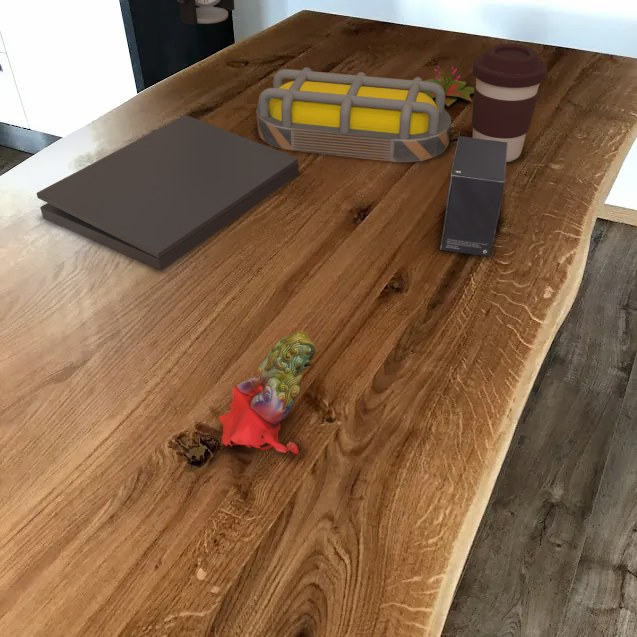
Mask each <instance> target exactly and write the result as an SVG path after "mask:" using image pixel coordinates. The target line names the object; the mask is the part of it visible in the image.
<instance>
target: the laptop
mask: <svg viewBox="0 0 637 637" xmlns="http://www.w3.org/2000/svg"><path fill="white" fill-rule="evenodd" d="M297 176H299V163H297V164H296V165H295V166H293V167H292V168H290V169H289V170H287V171H286V172H284V173H283V174H281V175H280V176H278V177H277V178H276V179H274V180H273V181H271V182H270V183H268V184H267V185H265V186H264V187H262V188H261V189H259V190H258V191H257V192H255V193H254V194H252V195H251V196H249V197H248V198H246V199H245V200H243V201H242V202H240V203H239V204H238V205H236V206H235V207H233V208H232V209H230V210H229V211H227V212H226V213H224V214H223V215H221V216H220V217H219V218H217V219H216V220H214V221H213V222H211V223H210V224H208V225H207V226H205V227H204V228H202V229H201V230H200V231H198V232H197V233H195V234H194V235H192V236H191V237H189V238H188V239H186V240H185V241H183V242H182V243H181V244H179V245H178V246H176V247H175V248H173V249H172V250H170V251H169V252H167V253H166V254H164V255H163V256H162V257H160V258H157V257H155V256H153V255H151V254H149V253H147V252H145V251H143V250H141V249H139V248H137V247H135V246H133V245H131V244H129V243H127V242H125V241H123V240H121V239H119V238H117V237H115V236H113V235H111V234H109V233H107V232H105V231H103V230H101V229H99V228H97V227H95V226H93V225H91V224H89V223H87V222H85V221H83V220H81V219H79V218H77V217H75V216H73V215H71V214H69V213H67V212H65V211H63V210H61V209H59V208H57V207H55V206H53V205H51V204H49V203H47V202H46V203H45V204H44V205H41V206H40V207H39V209H40V212H41V216H42V219H43V220H46V221H48V222H50V223H52V224H54V225H57V226H59V227H61V228H64V229H65V230H68V231H70V232H72V233H75V234H76V235H79V236H82V237H83V238H85V239H88V240H90V241H93V242H95V243H97V244H99V245H102V246H103V247H106V248H108V249H110V250H113V251H115V252H116V253H119V254H121V255H123V256H125V257H127V258H131V259H133V260H135V261H137V262H139V263H142V264H143V265H146V266H148V267H151V268H153V269H155V270H157V271H159V272H162V271H163V270H165V269H166V268H168V267H169V266H171V265H172V264H174V263H175V262H176V261H178V260H179V259H181V258H182V257H183V256H186V254H188V253H189V252H191V251H192V250H193V249H195V248H196V247H198V246H199V245H200V244H202V243H204V242H205V241H207V240H208V239H209V238H210V237H212V236H213V235H215V234H216V233H218V232H219V231H220V230H222V229H223V228H224V227H226V226H228V225H229V224H230V223H232V222H234V221H235V220H236V219H238V218H239V217H241V216H242V215H243V214H245V213H246V212H248V211H249V210H250V209H252V208H254V207H255V206H256V205H257V204H259V203H261V202H263V200H265V199H266V198H268V197H269V196H271V195H272V194H273V193H275V192H276V191H277V190H279V189H280V188H282V187H283V186H284V185H287V183H289V182H290V181H292V180H293V179H295V178H296V177H297Z"/></svg>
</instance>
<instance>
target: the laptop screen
mask: <svg viewBox="0 0 637 637" xmlns="http://www.w3.org/2000/svg"><path fill="white" fill-rule="evenodd" d="M296 164H299V158H298V157H296V156H293V155H290V154H288V153H285V152H283V151H281V150H277V149H275V148H272V147H270V146H267V145H265V144H262V143H260V142H257V141H254V140H251V139H249V138H246V137H244V136H241V135H239V134H236V133H234V132H231V131H228V130H225V129H223V128H221V127H218V126H215V125H213V124H211V123H208V122H205V121H202V120H199V119H197V118H195V117H193V116H189V115H187V114H184V115H182V116H180V117H179V118H176V119H175V120H173V121H171V122H169V123H167V124H165V125H163V126H161V127H159V128H158V129H156V130H154V131H152V132H150V133H148V134H146V135H144V136H142V137H141V138H139V139H137V140H134V141H133V142H131V143H129V144H127V145H125V146H123V147H121V148H120V149H118V150H115V151H114V152H111V153H110V154H108V155H106V156H104V157H102V158H100V159H99V160H97V161H95V162H93V163H91V164H89V165H87V166H85V167H83V168H81V169H80V170H77V171H76V172H74V173H72V174H70V175H68V176H66V177H64V178H62V179H60V180H58V181H56V182H55V183H52V184H51V185H48V186H47V187H45V188H43V189H41V190H39V191H37V192H36V196H37V199H39V200H40V201H43V202H45V203H46V204H47V203H49V204H51V205H53V206H55V207H57V208H59V209H61V210H63V211H65V212H67V213H69V214H71V215H73V216H75V217H77V218H79V219H81V220H83V221H85V222H87V223H89V224H91V225H93V226H95V227H97V228H99V229H101V230H103V231H105V232H107V233H109V234H111V235H113V236H115V237H117V238H119V239H121V240H123V241H125V242H127V243H129V244H131V245H133V246H135V247H137V248H139V249H141V250H143V251H145V252H147V253H149V254H151V255H153V256H155V257H157V258H160V257H162V256H163V255H164V254H166V253H167V252H169V251H170V250H172V249H173V248H175V247H176V246H178V245H179V244H181V243H182V242H183V241H185V240H186V239H188V238H189V237H191V236H192V235H194V234H195V233H197V232H198V231H200V230H201V229H202V228H204V227H205V226H207V225H208V224H210V223H211V222H213V221H214V220H216V219H217V218H219V217H220V216H221V215H223V214H224V213H226V212H227V211H229V210H230V209H232V208H233V207H235V206H236V205H238V204H239V203H240V202H242V201H243V200H245V199H246V198H248V197H249V196H251V195H252V194H254V193H255V192H257V191H258V190H259V189H261V188H262V187H264V186H265V185H267V184H268V183H270V182H271V181H273V180H274V179H276V178H277V177H278V176H280V175H281V174H283V173H284V172H286V171H287V170H289V169H290V168H292V167H293V166H295V165H296Z"/></svg>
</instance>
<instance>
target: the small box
mask: <svg viewBox="0 0 637 637" xmlns="http://www.w3.org/2000/svg"><path fill="white" fill-rule="evenodd" d="M507 147H508V143H507V142H501V141H493V140H485V139H477V138H472V137H469V136H462V135H459V136H458V138H457V142H456V147H455V152H454V156H453V161H452V164H451V165H452V166H451V171H450V177H449V183H448V191H447V196H446V197H447V199H446V205H445V214H444V221H443V227H442V232H441V238H440V245H439V250H440V251H444V252H451V253H452V252H453V253H460V254H467V255H474V256H480V257H481V256H482V257H491V253H492V249H493V244H494V241H495V238H496V237H495V236H496V232H497V227H498V221H499V217H500V212H501V206H502V202H503V196H504V189H505V183H506V171H507V162H506V161H507Z"/></svg>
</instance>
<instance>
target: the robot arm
mask: <svg viewBox="0 0 637 637" xmlns="http://www.w3.org/2000/svg"><path fill="white" fill-rule="evenodd" d="M177 3H179V4H178V5H179V12H180V21H181V23H183V24H186V25H187V24H188V25H190V26H197V25H198V23H197V13H196V8H197V5H196V2H195V0H177ZM218 7H219V8H223V9H225V10H226V11H234V10H235V0H220V1H219V2H218Z"/></svg>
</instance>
